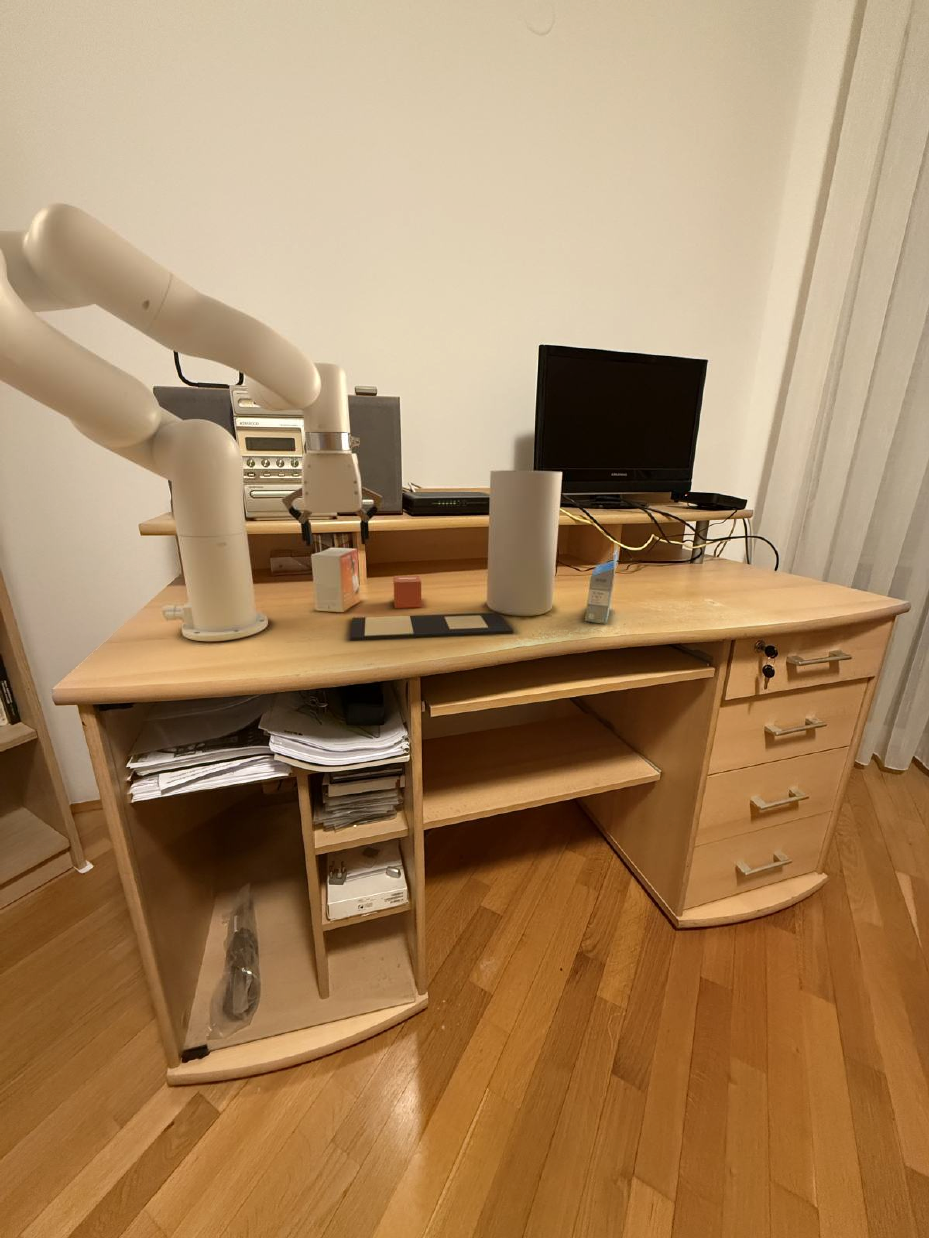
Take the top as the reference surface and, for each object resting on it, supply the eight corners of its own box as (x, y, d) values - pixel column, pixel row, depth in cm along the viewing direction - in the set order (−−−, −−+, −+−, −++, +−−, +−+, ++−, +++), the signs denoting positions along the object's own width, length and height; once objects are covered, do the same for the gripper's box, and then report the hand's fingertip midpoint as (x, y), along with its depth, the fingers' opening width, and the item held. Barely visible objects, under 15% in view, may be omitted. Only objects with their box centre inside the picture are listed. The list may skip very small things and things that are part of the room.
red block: (395, 608, 92) (394, 581, 91) (394, 600, 97) (393, 575, 95) (421, 607, 93) (421, 581, 91) (419, 600, 98) (419, 575, 96)
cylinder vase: (478, 613, 90) (482, 471, 82) (495, 596, 101) (500, 470, 93) (546, 620, 86) (556, 473, 78) (556, 602, 98) (566, 471, 90)
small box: (343, 613, 88) (339, 555, 85) (314, 611, 89) (310, 554, 86) (361, 601, 96) (358, 548, 93) (334, 599, 97) (330, 546, 94)
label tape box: (589, 608, 94) (595, 544, 90) (611, 610, 93) (618, 546, 89) (584, 621, 86) (591, 552, 82) (608, 624, 85) (616, 554, 81)
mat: (350, 640, 75) (349, 636, 75) (352, 620, 85) (352, 617, 85) (513, 633, 80) (513, 629, 80) (498, 614, 89) (498, 611, 89)
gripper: (379, 445, 89) (384, 539, 94) (279, 445, 86) (290, 542, 91) (379, 444, 82) (385, 546, 87) (271, 444, 79) (284, 549, 84)
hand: (336, 544), depth 89 cm, fingers open, 9 cm apart
